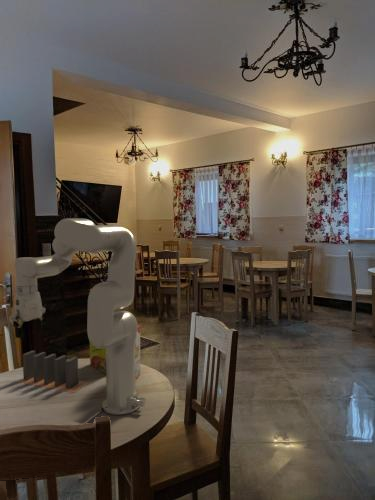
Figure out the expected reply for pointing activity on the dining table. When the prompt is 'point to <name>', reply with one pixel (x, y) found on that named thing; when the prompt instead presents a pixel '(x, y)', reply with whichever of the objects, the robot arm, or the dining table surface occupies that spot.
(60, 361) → the domino
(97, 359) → the food package
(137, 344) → the cracker box
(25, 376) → the domino
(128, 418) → the dining table surface
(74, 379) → the domino
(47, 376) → the domino
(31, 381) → the domino board
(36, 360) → the domino
